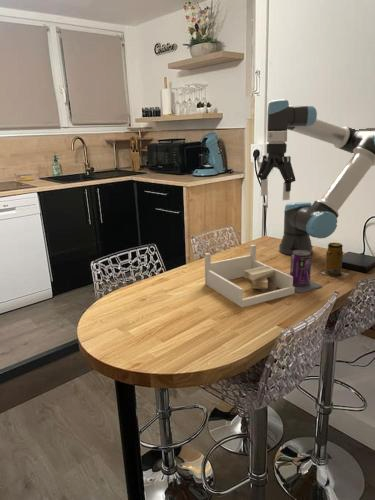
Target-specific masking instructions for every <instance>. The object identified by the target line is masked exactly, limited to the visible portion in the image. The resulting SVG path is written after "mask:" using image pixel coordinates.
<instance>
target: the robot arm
mask: <svg viewBox="0 0 375 500" xmlns="http://www.w3.org/2000/svg"><path fill="white" fill-rule="evenodd" d="M266 115H267V133H266V142H267V144H266V154H265V155H262V161H261V164H260V168H259V169H258V170H259V171H258V172H257V177H256V178H258V179H259V180H260V196H261V197H262V196H266V197H267V196H268V183H269V180H268V177H269V175H270V173H271V171H272V170H273V169H274V168H276V169H278V170H279V172H280V174H281V177H282V179H283V180H284V182H283V187H282V201H288V200H290V199H291V198H290V197H291V196H290V193H291V190H292V189H291V188H292V183H294V182H296V177H295V172H294V169H293V166H292V162H291V161H292V159H291V158H292V157H291V155H287V156H285V154H286V153H287V148H288V147H287V146H288V144H287V143H286V142H288V131H292V132H295V133H298V134H301V135H304V136H308V137H310V138H313V139H316V140H319V141H321V142H325V143H328V144H331V145H333V146H334V148H336V149H340V150H341V151H345V152H347V153H350V154H352V153H354V154H353V156H352V157H351V158H350V159H349V161H348V163H347V164H346V165H345V166H344V168H343V169H342V170H341V172H340V173H339V175H338V176H337V177H336V178H335V180H334V181H333V182H332V183H331V185H330V187H329V188H328V189H327V190H326V192H325V193H324V195H322V196H321V198H320V199H316V200H314V202H313V203H312V202H310V201H309V202H308V201H305V202H304V201H302V202H301V201H299V202H289V203H286V204H285V205H284V212H283V214H284V218H283V219H284V220H283V235H282V238H281V242H280V243H279V246H278V252H279V253H282V254H284V255H289V256H292V254H293V251H295V250H306V251H309V252H310V253H311V254H312V253H313V245H312V241H311V238H317V239H325V238H328V237H329V236H331V235H333V234H334V232H335V231H336V229H337V227H338V217H339V216H340V215H339V214H340V213H339V210H340V209H341V208H342V206H343V205H344V204H345V202H346V201H347V199H348V198H349V197H350V195H351V194H352V192H354V190H355V189H356V187H357V186H358V185H359V183H361V181H362V180H363V178H364V177H365V175H366V174H367V173H368V171H369V170H370V169H371V168H372V166H375V127H365V128H366V129H359V130H355V129H352V128H353V127H349V126H345V125H343V126H342V127H341V126H338V125H335V124H331V123H329V122H327V121H323V120H320V119H318V118H317V117H318V112H317V109H316V108H315V106H313V105H290V104H289V100H288V99H276V100H271V101H269V102H268V105H267V114H266Z"/></svg>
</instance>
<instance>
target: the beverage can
mask: <svg viewBox="0 0 375 500" xmlns="http://www.w3.org/2000/svg"><path fill="white" fill-rule="evenodd" d="M312 258H313V257H312V253H310V252H309V251H306V250H295V251H293V254H292V255H290V271H289V275H290V276H293V284H294V285H296V286H305V285H308V284H309V283H310V281H311V271H312V270H311V269H312Z"/></svg>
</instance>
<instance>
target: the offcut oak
mask: <svg viewBox="0 0 375 500" xmlns="http://www.w3.org/2000/svg"><path fill="white" fill-rule="evenodd" d="M252 282H253V284H252V289H258V288H265V289H268V281H267V278H263V279H259V280H255V281H252Z"/></svg>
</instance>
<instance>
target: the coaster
mask: <svg viewBox="0 0 375 500" xmlns="http://www.w3.org/2000/svg"><path fill="white" fill-rule="evenodd" d="M293 287H295V289H294V293H297V294H301V293H305V292H309V291H313V290H316V289H317V290H318V289H320V288H322V287H323V286H322V284H320V283H317V282H314V281H312V280H310V283H309V284H308V285H305V286H296V285H294V284H293Z"/></svg>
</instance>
